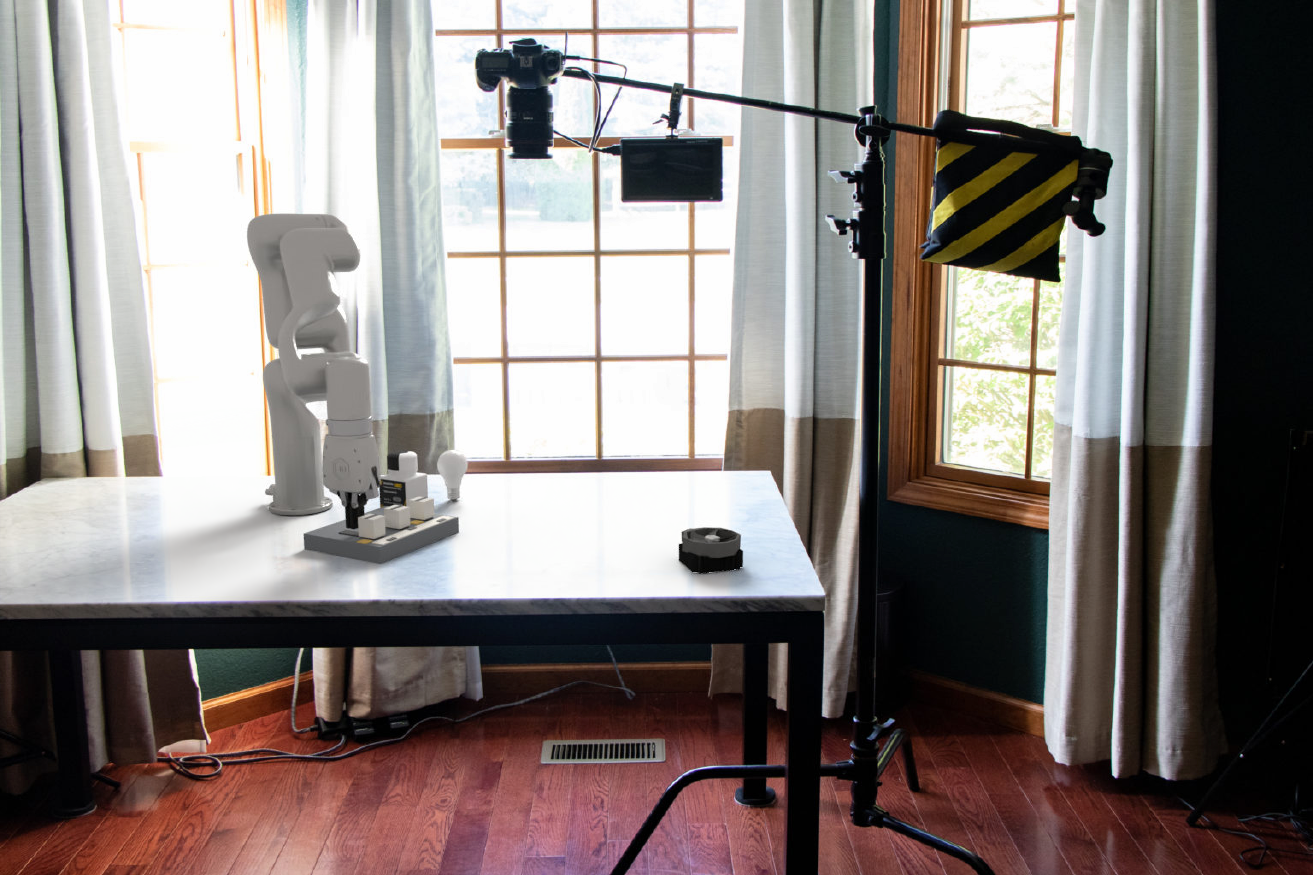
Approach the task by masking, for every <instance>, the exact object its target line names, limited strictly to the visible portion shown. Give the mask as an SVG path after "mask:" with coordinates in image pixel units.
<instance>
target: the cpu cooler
mask: <svg viewBox="0 0 1313 875" xmlns="http://www.w3.org/2000/svg"><path fill="white" fill-rule="evenodd" d="M741 542H742V534H741V533H738V532H736V531H735V530H731V529H727V528H724V527H697V528H696V527H695V528H688V529H685V530H682V531H681V543H678V561H679V563H681V564H682V565H683V566H685V567H686V568H687V570H688V571H690V572H691V573H693V572H699V573H698V574H699V575H700V574H701V573H703V574H710V573H709V572H715V573H720V572H724V573H725V572H728V571H729V572H730V571H731V572H732V570H734V569H736V570H734V571H738V570H739V569H740V570H741V568H740V567H743V566H744V550H742V549H741V547H742V546H741ZM743 568H744V567H743ZM737 569H738V570H737ZM701 575H702V574H701Z"/></svg>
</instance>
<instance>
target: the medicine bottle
mask: <svg viewBox="0 0 1313 875" xmlns="http://www.w3.org/2000/svg"><path fill="white" fill-rule="evenodd" d="M386 460H387V463H386V464H387V473H388V474H384V475H381V484H380V487H379V488H378V492H379V506H380V507H379V508H381V507H384V506H389V507H390V506H392V505H403V506H407V507H409V500H410V499H413V498H416V497H419V496H420V497H428V498H429V492H428V490H429V488H428V474H427V473H424V472H418V470H419V469H418V468H419V467H418V454H417V453H416V452H415V451H412V450H396V451H395V450H394V451H392V452H389V453H388V454H387V456H386Z"/></svg>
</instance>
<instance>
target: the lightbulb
mask: <svg viewBox="0 0 1313 875" xmlns="http://www.w3.org/2000/svg"><path fill="white" fill-rule="evenodd" d="M436 464H437V465H436V466H437V470H438V473H439V474H440V476H441V477H442V478H443V481H444V486H445V487H446V491H447V492H446V493H447V495H446V496H447V499H448V500H449V501H453V502H455V501H457V500H458V499H460V498H461V496H460V495H461V492H460V487H461V485H462V480H463V478H464V476H465V474H466V472H467V470H468V465H469V463H468V460H467V457H466V456H465V455H464V453H463V452H461V451H459V450H456V449H450V450H446V451H444V452H442V453H441V454H440V456H439V457H438V459H437V463H436Z"/></svg>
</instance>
